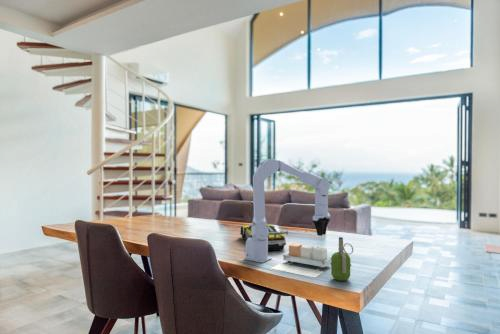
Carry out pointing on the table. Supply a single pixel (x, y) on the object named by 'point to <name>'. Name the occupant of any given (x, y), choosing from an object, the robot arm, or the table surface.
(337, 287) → the table surface
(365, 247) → the table surface
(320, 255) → the part
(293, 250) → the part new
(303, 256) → the part
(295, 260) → the beam with t-bracket
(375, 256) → the table surface
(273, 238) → the racing car
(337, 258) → the grenade
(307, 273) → the track
